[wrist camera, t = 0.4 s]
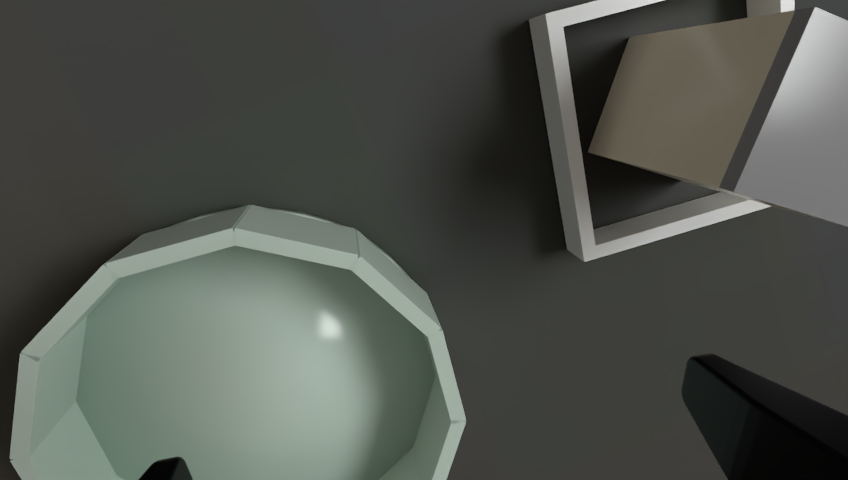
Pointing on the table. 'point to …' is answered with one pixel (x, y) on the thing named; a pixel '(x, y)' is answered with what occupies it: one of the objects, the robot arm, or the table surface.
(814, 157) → the cream grey rectangular block
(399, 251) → the table surface
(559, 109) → the square frame
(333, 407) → the serving bowl
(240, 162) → the table surface
